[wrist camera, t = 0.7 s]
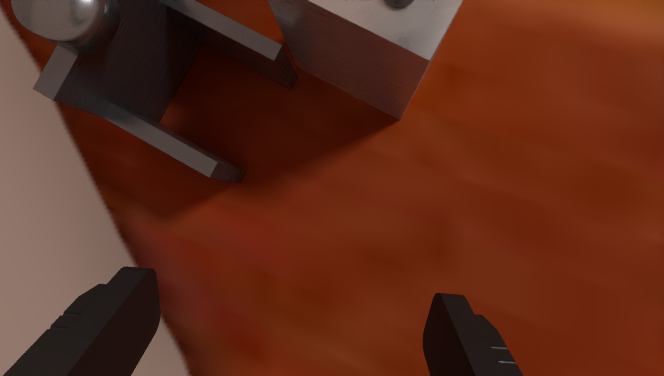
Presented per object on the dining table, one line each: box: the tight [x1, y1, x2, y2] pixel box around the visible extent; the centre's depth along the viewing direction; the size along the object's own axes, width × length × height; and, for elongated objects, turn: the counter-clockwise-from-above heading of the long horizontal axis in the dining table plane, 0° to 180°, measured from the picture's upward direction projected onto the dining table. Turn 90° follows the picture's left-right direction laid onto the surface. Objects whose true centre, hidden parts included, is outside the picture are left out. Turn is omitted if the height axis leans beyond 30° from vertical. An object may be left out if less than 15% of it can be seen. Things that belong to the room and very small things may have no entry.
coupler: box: [11, 0, 297, 183], centre depth 24 cm, size 10×12×12 cm
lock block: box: [268, 0, 464, 120], centre depth 23 cm, size 5×10×12 cm, turn 61°
